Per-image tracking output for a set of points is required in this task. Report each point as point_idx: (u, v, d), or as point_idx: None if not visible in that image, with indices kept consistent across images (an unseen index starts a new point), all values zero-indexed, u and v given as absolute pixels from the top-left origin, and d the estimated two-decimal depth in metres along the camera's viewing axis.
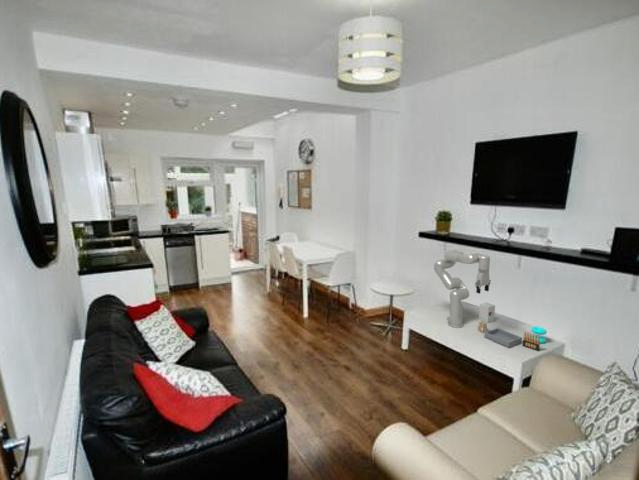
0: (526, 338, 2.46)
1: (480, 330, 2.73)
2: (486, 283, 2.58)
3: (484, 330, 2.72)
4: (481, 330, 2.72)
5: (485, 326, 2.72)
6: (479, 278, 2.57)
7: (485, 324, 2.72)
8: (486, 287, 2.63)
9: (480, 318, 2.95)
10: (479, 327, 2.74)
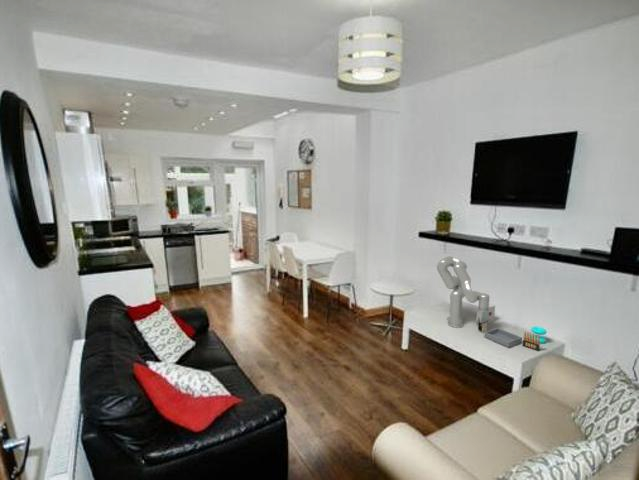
0: (526, 338, 2.46)
1: None
2: (486, 320, 2.71)
3: (484, 330, 2.72)
4: None
5: (485, 326, 2.72)
6: (479, 315, 2.69)
7: (485, 324, 2.72)
8: None
9: None
10: None
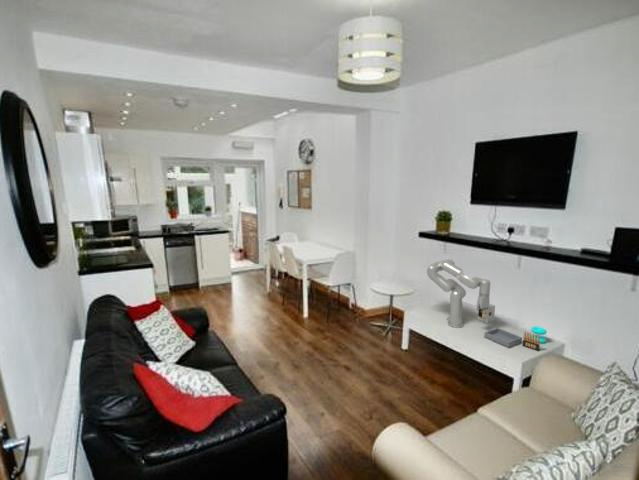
0: (526, 338, 2.46)
1: None
2: (486, 306, 2.70)
3: (484, 316, 2.70)
4: None
5: (485, 312, 2.70)
6: (479, 301, 2.67)
7: (485, 310, 2.70)
8: None
9: (480, 318, 2.95)
10: None
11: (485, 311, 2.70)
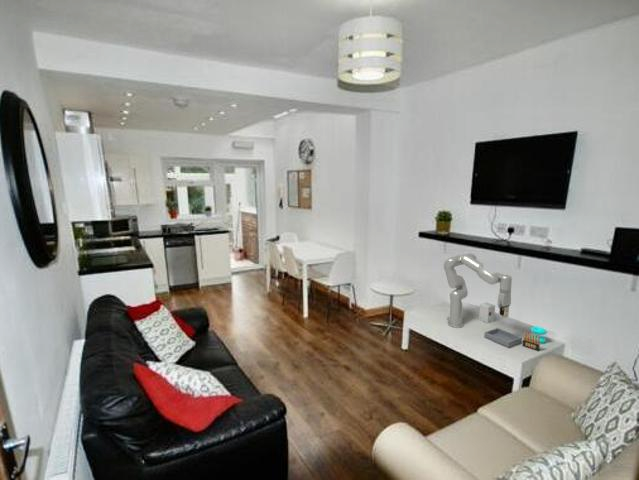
0: (526, 338, 2.46)
1: None
2: (508, 303, 2.53)
3: (506, 314, 2.53)
4: None
5: (507, 310, 2.53)
6: (501, 299, 2.51)
7: (507, 308, 2.53)
8: None
9: (480, 318, 2.95)
10: None
11: (507, 309, 2.53)
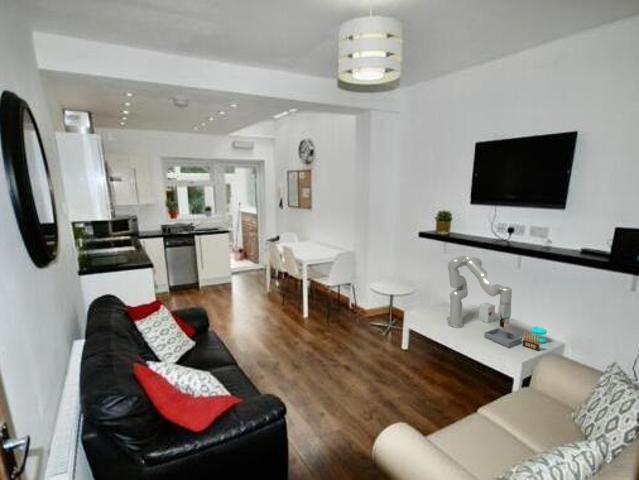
0: (526, 338, 2.46)
1: None
2: (508, 315, 2.54)
3: (506, 326, 2.54)
4: None
5: (507, 322, 2.54)
6: (501, 311, 2.52)
7: (507, 320, 2.54)
8: None
9: (480, 318, 2.95)
10: None
11: (507, 320, 2.54)
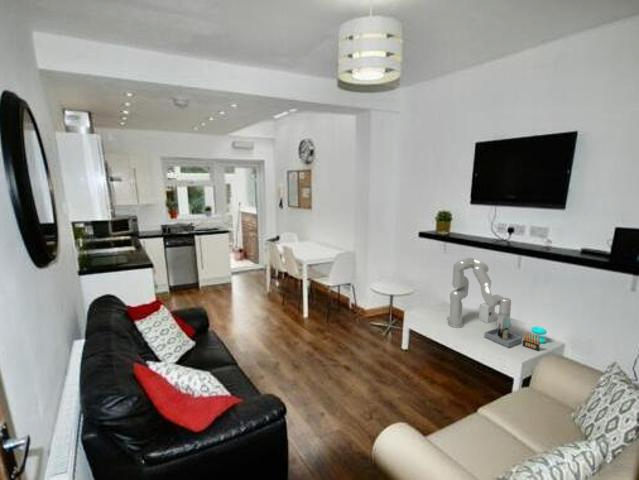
0: (526, 338, 2.46)
1: (501, 338, 2.57)
2: (507, 326, 2.55)
3: (505, 338, 2.56)
4: (502, 338, 2.56)
5: (506, 333, 2.56)
6: (500, 321, 2.53)
7: (506, 331, 2.56)
8: None
9: (480, 318, 2.95)
10: None
11: (506, 332, 2.56)
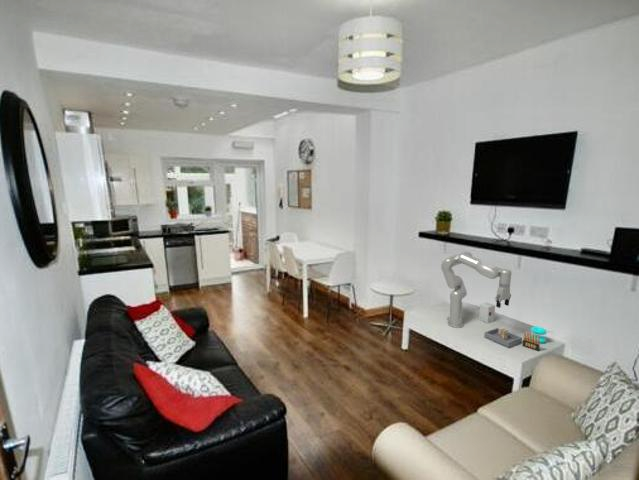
0: (526, 338, 2.46)
1: (501, 338, 2.57)
2: (506, 297, 2.56)
3: (505, 338, 2.56)
4: (502, 338, 2.56)
5: (506, 333, 2.56)
6: (500, 292, 2.55)
7: (506, 331, 2.56)
8: (506, 301, 2.60)
9: (480, 318, 2.95)
10: (499, 334, 2.58)
11: (506, 332, 2.56)
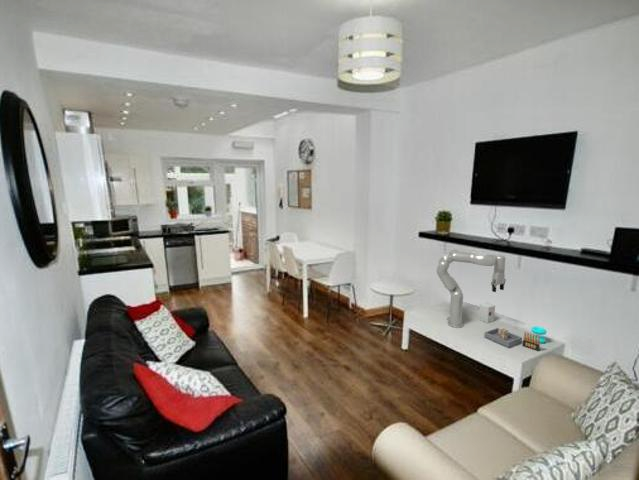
0: (526, 338, 2.46)
1: (501, 338, 2.57)
2: (501, 282, 2.71)
3: (505, 338, 2.56)
4: (502, 338, 2.56)
5: (506, 333, 2.56)
6: (495, 277, 2.69)
7: (506, 331, 2.56)
8: (501, 286, 2.75)
9: (480, 318, 2.95)
10: (499, 334, 2.58)
11: (506, 332, 2.56)
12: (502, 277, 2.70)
